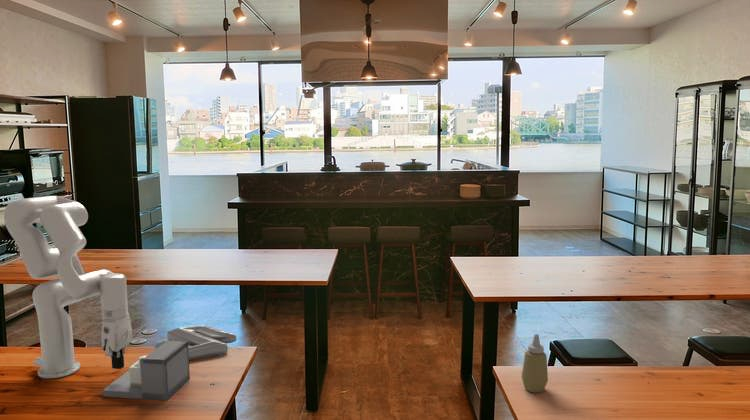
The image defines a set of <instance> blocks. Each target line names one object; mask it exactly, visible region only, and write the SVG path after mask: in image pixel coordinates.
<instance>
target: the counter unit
mask: <svg viewBox="0 0 750 420" xmlns="http://www.w3.org/2000/svg"><path fill="white" fill-rule="evenodd" d="M162 342H163V344H162V345H161V346H159V347H158V348H157V349H155V348H154V350H152V351H150V353H149V354H147V355H145V356H146V357H142V356H140V357H141V358H140V370H141V385H142V386H131V385H130V371H129V370H128V371H126V372H125V373H124V374H123V375H121V376H119V377H118V378H117V379H115V380H114V381H113V382H111V383H110V384H109V385H107V386H106V387H105V388H104V389H102V397H105V398H107V397H109V398H123V399H135V400H136V399H137V400H153V401H168V400H169V399H170V398H172V396H173V395H174V394H175V393H176V392H178V391H179V390H180V389H181V388H182V387H183V386H184V385H185V384H186V383H187V382H188V381H189V380H190V379H191V377H190V376H191V375H190V360H189V353H188V341H174V340H168V339H164V340H163V341H162Z"/></svg>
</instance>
